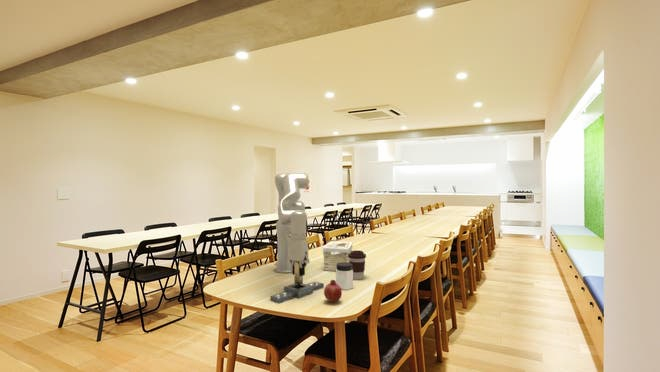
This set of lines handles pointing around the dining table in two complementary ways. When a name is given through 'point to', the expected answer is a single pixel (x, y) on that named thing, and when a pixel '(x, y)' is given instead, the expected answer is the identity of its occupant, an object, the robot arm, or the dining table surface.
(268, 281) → the dining table surface
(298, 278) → the pin
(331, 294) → the fruit
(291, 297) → the grey socket base
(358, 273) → the coffee cup
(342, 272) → the jar
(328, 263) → the storage basket
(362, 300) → the dining table surface
